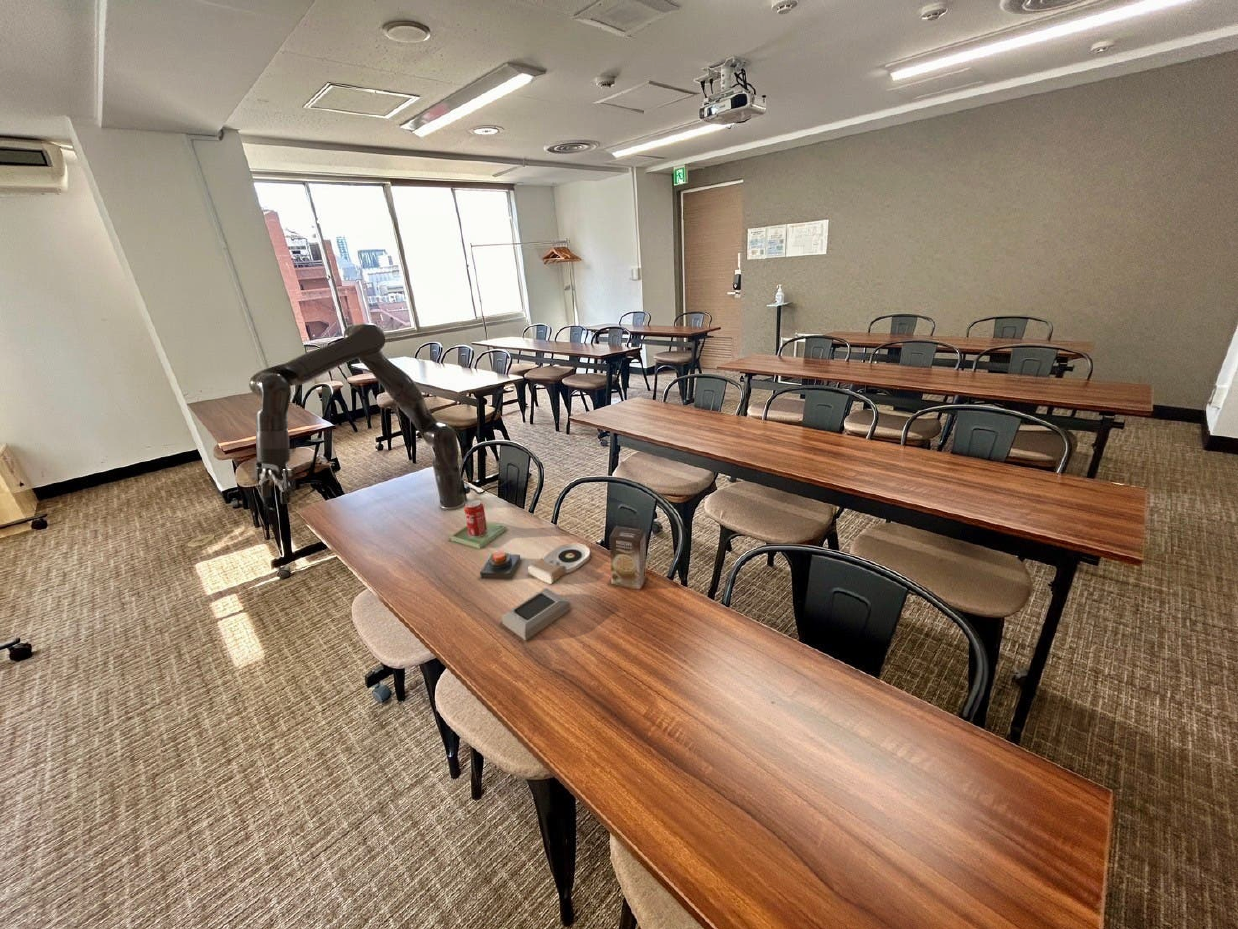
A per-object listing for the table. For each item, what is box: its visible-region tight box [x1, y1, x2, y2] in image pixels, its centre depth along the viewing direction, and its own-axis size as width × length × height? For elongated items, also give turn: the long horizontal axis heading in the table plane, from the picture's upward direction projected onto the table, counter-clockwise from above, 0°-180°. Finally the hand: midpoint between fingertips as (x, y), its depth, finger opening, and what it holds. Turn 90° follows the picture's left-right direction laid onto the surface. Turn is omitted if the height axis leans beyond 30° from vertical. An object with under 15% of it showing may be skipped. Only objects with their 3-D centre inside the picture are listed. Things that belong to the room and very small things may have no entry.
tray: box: [449, 520, 507, 549], centre depth 166 cm, size 13×13×2 cm
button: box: [493, 551, 506, 562], centre depth 145 cm, size 4×4×2 cm
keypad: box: [501, 587, 571, 641], centre depth 125 cm, size 10×4×15 cm
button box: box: [479, 552, 521, 581], centre depth 146 cm, size 10×9×4 cm
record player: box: [527, 542, 591, 585], centre depth 148 cm, size 12×3×20 cm
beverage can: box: [464, 499, 488, 538], centre depth 164 cm, size 6×6×12 cm
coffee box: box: [609, 525, 647, 590], centre depth 136 cm, size 9×6×16 cm
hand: (275, 500), depth 137 cm, fingers open, 8 cm apart
